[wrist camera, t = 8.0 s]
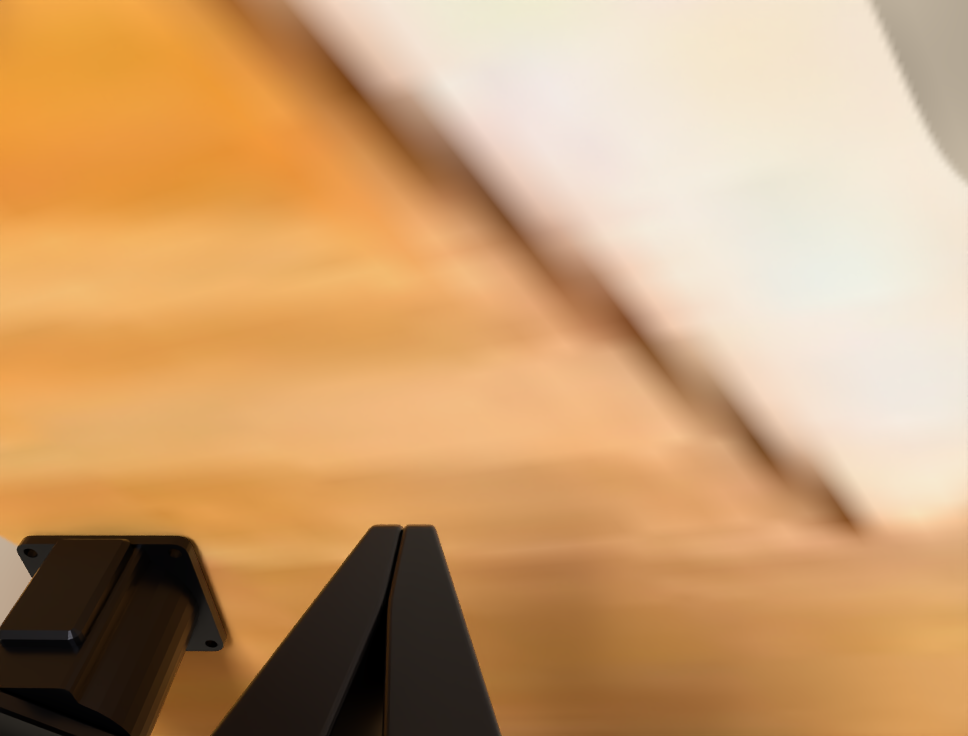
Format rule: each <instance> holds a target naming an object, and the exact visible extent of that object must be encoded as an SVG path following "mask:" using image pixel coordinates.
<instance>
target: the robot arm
mask: <svg viewBox="0 0 968 736" xmlns="http://www.w3.org/2000/svg"><path fill="white" fill-rule="evenodd" d="M17 552H18V555H19V556H20V558H21V560H22V561H23V563H24V565H25V567H26V568H27V570H28V572H29V573H30V575H31V577H32V579H31V581H30V582H29V584H28V585H27V587H26V588H25V590H24V592H23V593H22V594H21V596H20V598H19V599H18V600H17V602H16V603H15V605H14V606H13V608H12V609H11V611H10V612H9V614H8V615H7V617H6V618H5V620H4V622H3V623H2V625H1V626H0V736H150V735H151V733H152V730H153V728H154V726H155V723H156V721H157V718H158V716H159V713H160V711H161V709H162V706H163V704H164V701H165V699H166V696H167V694H168V692H169V689H170V687H171V684H172V682H173V679H174V677H175V675H176V672H177V670H178V667H179V665H180V662H181V660H182V658H183V655H184V653H185V651H219V650H221V649H222V648H223V647H224V644H225V641H226V639H227V637H226V633H225V631H224V628H223V625H222V623H221V620H220V617H219V615H218V612H217V609H216V607H215V604H214V601H213V599H212V596H211V594H210V591H209V588H208V586H207V583H206V580H205V578H204V575H203V572H202V570H201V567H200V564H199V562H198V559H197V557H196V554H195V551H194V549H193V546H192V544H191V543H190V541H188V540H187V539H185V538H183V537H180V536H27V537H25V538H24V539H23V540H22V541H21V543H20V544H19V546H18V547H17ZM210 736H502V735H501V732H500V729H499V726H498V723H497V720H496V717H495V713H494V710H493V707H492V704H491V701H490V698H489V695H488V691H487V688H486V685H485V682H484V679H483V676H482V673H481V669H480V666H479V663H478V660H477V657H476V654H475V651H474V647H473V644H472V641H471V638H470V635H469V632H468V628H467V625H466V622H465V619H464V616H463V613H462V610H461V606H460V603H459V600H458V597H457V594H456V591H455V588H454V584H453V581H452V578H451V575H450V572H449V569H448V566H447V562H446V559H445V556H444V553H443V550H442V547H441V544H440V540H439V537H438V534H437V531H436V529H435V527H434V526H433V525H407V526H405V528H404V529H403V527H402V526H400V525H374V526H372V527H371V528H370V529H369V530H368V531H367V532H366V534H365V535H364V536H363V538H362V539H361V540H360V542H359V543H358V544H357V545H356V547H355V548H354V549H353V551H352V552H351V553H350V555H349V556H348V557H347V558H346V560H345V561H344V562H343V564H342V565H341V566H340V568H339V569H338V570H337V571H336V573H335V574H334V575H333V577H332V578H331V579H330V581H329V582H328V583H327V584H326V586H325V587H324V588H323V590H322V591H321V592H320V594H319V595H318V596H317V597H316V599H315V600H314V601H313V603H312V604H311V605H310V607H309V608H308V609H307V610H306V612H305V613H304V614H303V616H302V617H301V618H300V620H299V621H298V622H297V624H296V625H295V626H294V627H293V629H292V630H291V631H290V633H289V634H288V635H287V637H286V638H285V639H284V640H283V642H282V643H281V644H280V646H279V647H278V648H277V650H276V651H275V652H274V653H273V655H272V656H271V657H270V659H269V660H268V661H267V663H266V664H265V665H264V666H263V668H262V669H261V670H260V672H259V673H258V674H257V676H256V677H255V678H254V679H253V681H252V682H251V683H250V685H249V686H248V687H247V689H246V690H245V691H244V692H243V694H242V695H241V696H240V698H239V699H238V700H237V702H236V703H235V704H234V705H233V707H232V708H231V709H230V711H229V712H228V713H227V715H226V716H225V717H224V719H223V720H222V721H221V722H220V724H219V725H218V726H217V728H216V729H215V730H214V732H213V733H212V734H211V735H210Z"/></svg>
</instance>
